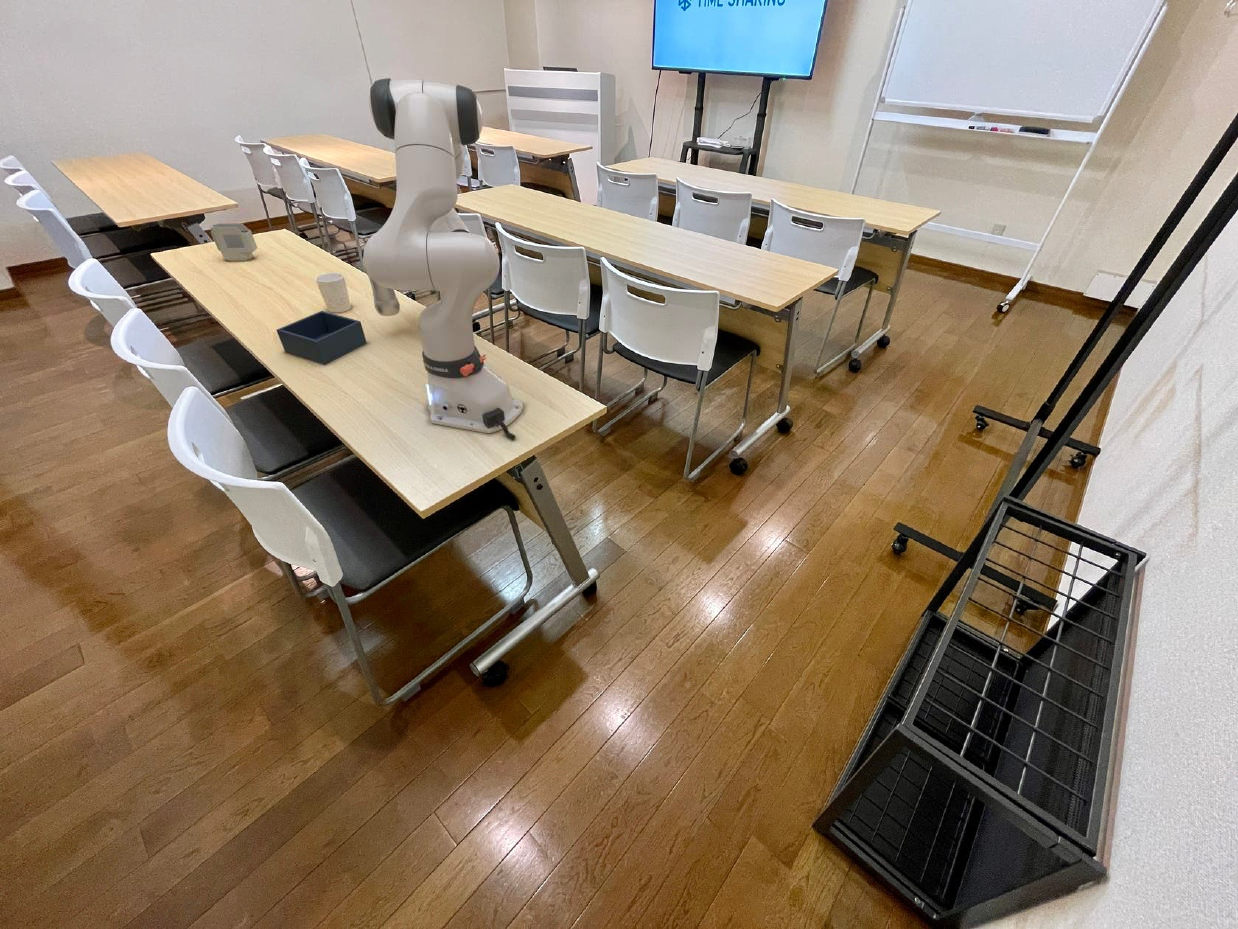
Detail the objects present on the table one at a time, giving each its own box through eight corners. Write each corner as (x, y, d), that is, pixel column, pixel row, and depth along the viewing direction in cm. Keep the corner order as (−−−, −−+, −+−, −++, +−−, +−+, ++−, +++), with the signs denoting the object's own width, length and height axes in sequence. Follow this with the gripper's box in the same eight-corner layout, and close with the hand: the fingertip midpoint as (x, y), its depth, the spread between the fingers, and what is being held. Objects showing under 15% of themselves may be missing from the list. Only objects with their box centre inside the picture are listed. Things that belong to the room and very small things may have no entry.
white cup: (346, 301, 168) (337, 270, 162) (357, 309, 164) (348, 277, 158) (321, 307, 164) (311, 276, 158) (331, 315, 160) (321, 283, 153)
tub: (367, 343, 147) (360, 321, 142) (324, 364, 136) (316, 341, 132) (329, 332, 151) (321, 310, 147) (285, 352, 141) (275, 329, 136)
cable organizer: (256, 261, 194) (243, 227, 186) (219, 262, 192) (204, 227, 184) (262, 255, 199) (249, 222, 192) (226, 256, 197) (211, 222, 189)
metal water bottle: (394, 320, 146) (375, 246, 133) (372, 317, 146) (351, 243, 134) (406, 311, 150) (389, 239, 138) (384, 308, 151) (366, 236, 139)
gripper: (410, 246, 152) (361, 254, 145) (437, 266, 140) (385, 275, 133) (414, 268, 156) (367, 276, 149) (441, 289, 144) (391, 299, 137)
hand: (376, 276), depth 141 cm, fingers closed on metal water bottle, 6 cm apart
